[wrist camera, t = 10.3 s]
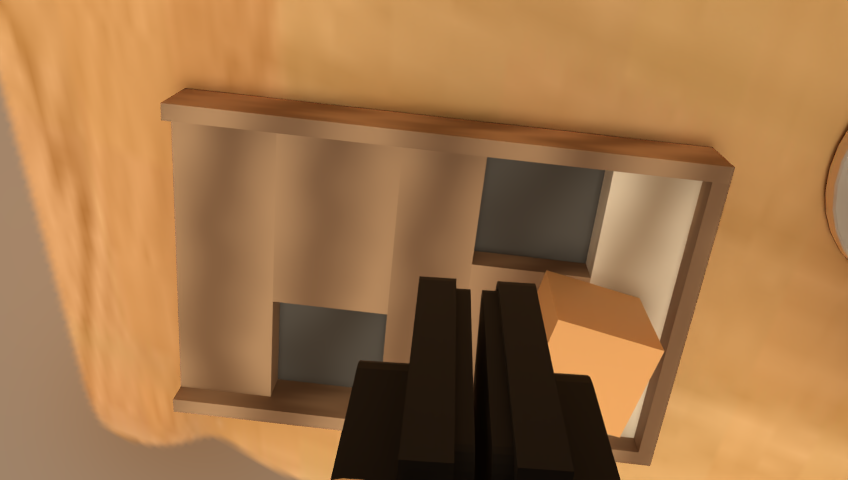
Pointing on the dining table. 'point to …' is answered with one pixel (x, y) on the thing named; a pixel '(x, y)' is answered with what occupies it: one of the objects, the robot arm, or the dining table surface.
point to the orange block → (600, 342)
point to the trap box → (409, 241)
